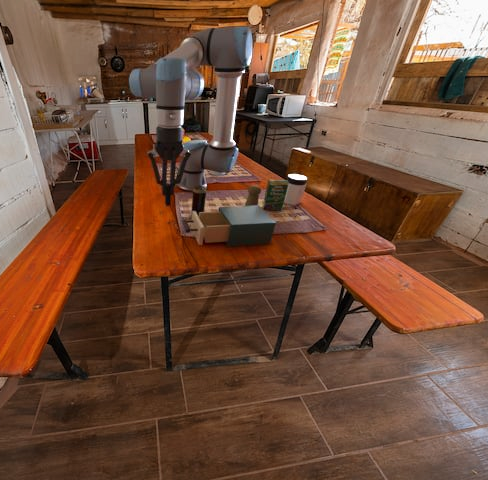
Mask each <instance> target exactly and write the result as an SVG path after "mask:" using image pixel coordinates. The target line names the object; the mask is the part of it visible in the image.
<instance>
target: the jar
mask: <svg viewBox="0 0 488 480" xmlns="http://www.w3.org/2000/svg"><path fill="white" fill-rule="evenodd" d="M286 180H287V181H288V182H289V184H288V188H287V192H286V196H285V200H284V203H283V204H285V205H286V204H287V205H291V206H296V205H299V204H301V202H302V199H303V196H304V193H305V191H306V187H307V182H308V177H307V176H305V175H302V174H298V173H290V174H288V175H287V178H286Z"/></svg>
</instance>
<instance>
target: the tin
mask: <svg viewBox="0 0 488 480" xmlns="http://www.w3.org/2000/svg"><path fill="white" fill-rule="evenodd" d="M207 190H208V188H207V186H206V187H203V186H195V187H193V192H192V200H191V211H190V212H191V213H190V217H191V218H192V211H196V213H197V215H198V217H199V212H205V208H206V200H207Z"/></svg>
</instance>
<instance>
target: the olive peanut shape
mask: <svg viewBox="0 0 488 480" xmlns="http://www.w3.org/2000/svg"><path fill="white" fill-rule="evenodd" d="M247 191H248V195H247V198H246V200H245V203H244V206H256V205H259V198H260V195H261V193H262V192H261V191H262V187H261V186H259V185H256V184H253V185H250V186H249V187H248V189H247Z"/></svg>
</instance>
